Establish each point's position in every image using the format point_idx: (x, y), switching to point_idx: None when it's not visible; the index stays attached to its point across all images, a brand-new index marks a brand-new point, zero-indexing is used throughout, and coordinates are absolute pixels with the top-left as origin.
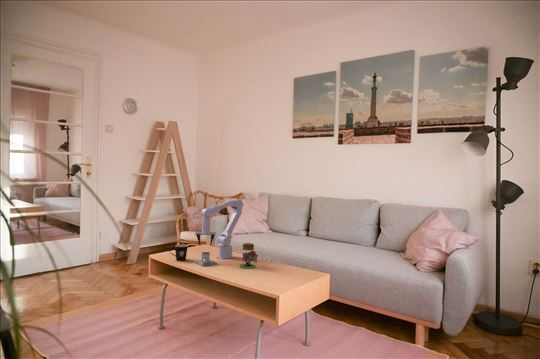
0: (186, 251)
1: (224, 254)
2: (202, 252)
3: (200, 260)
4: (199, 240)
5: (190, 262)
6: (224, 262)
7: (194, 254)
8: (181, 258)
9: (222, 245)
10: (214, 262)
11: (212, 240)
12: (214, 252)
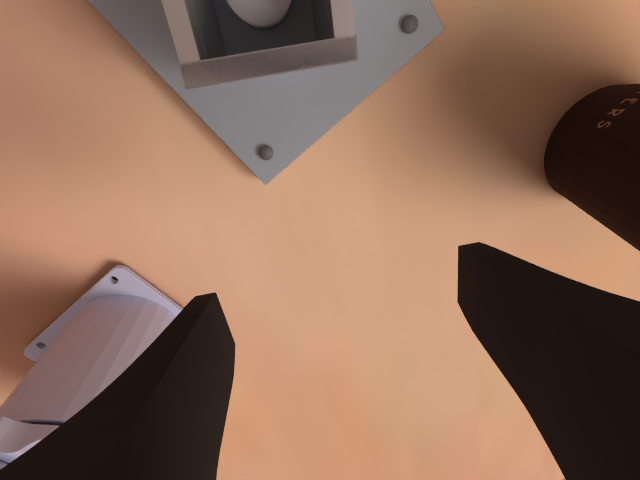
0: (637, 164)
1: (76, 326)
2: (343, 23)
3: (356, 80)
4: (573, 301)
5: (485, 26)
6: (4, 107)
7: (454, 377)
8: (630, 87)
9: (32, 435)
10: None
11: (96, 399)
12: (286, 464)
